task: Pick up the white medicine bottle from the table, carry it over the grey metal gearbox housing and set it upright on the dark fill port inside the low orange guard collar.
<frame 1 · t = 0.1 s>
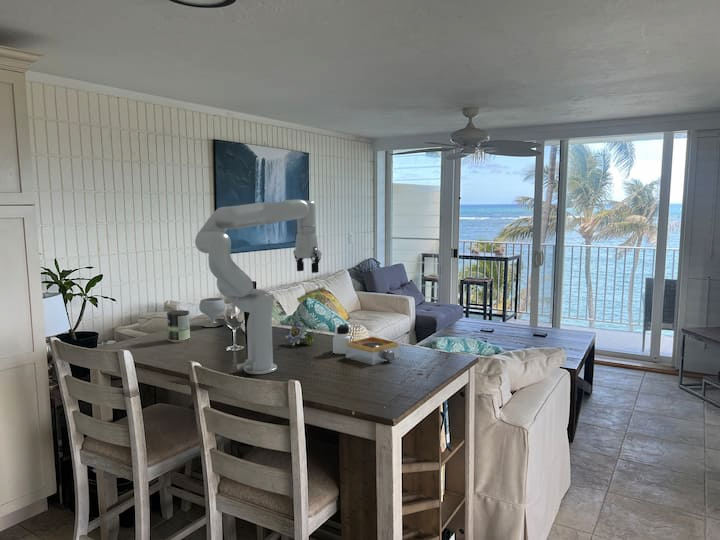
hand: (307, 271, 212), 37 cm above the table, tool pointing down, fingers open, 9 cm apart
medicine bottle: (342, 352, 224), on the table
gearbox: (372, 357, 215), on the table
coffee can: (179, 340, 249), on the table
chalice: (213, 326, 282), on the table
passion flower: (300, 344, 240), on the table
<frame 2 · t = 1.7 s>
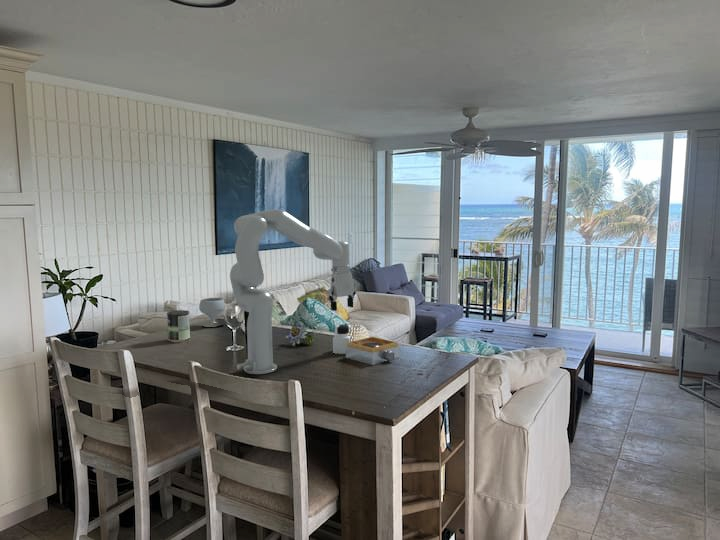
hand: (342, 308, 223), 19 cm above the table, tool pointing down, fingers open, 9 cm apart
nothing on the table moved.
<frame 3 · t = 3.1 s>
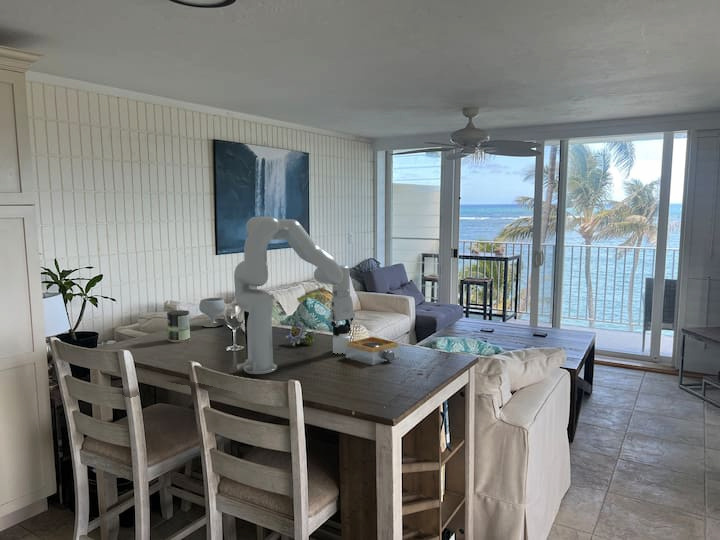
hand: (341, 333, 224), 8 cm above the table, tool pointing down, fingers closed on medicine bottle, 6 cm apart
medicine bottle: (342, 352, 224), on the table, touching gripper
everything else where it was.
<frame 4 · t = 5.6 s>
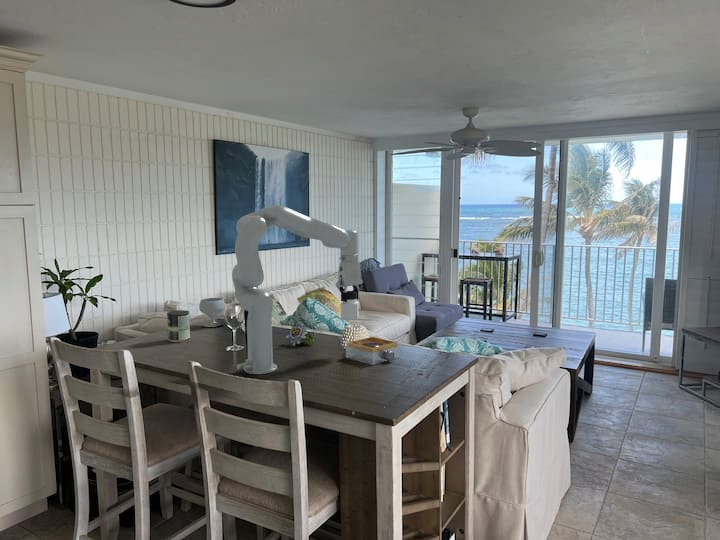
hand: (349, 300, 219), 24 cm above the table, tool pointing down, fingers closed on medicine bottle, 6 cm apart
medicine bottle: (349, 319, 220), point 15 cm above the table, touching gripper
everything else where it was.
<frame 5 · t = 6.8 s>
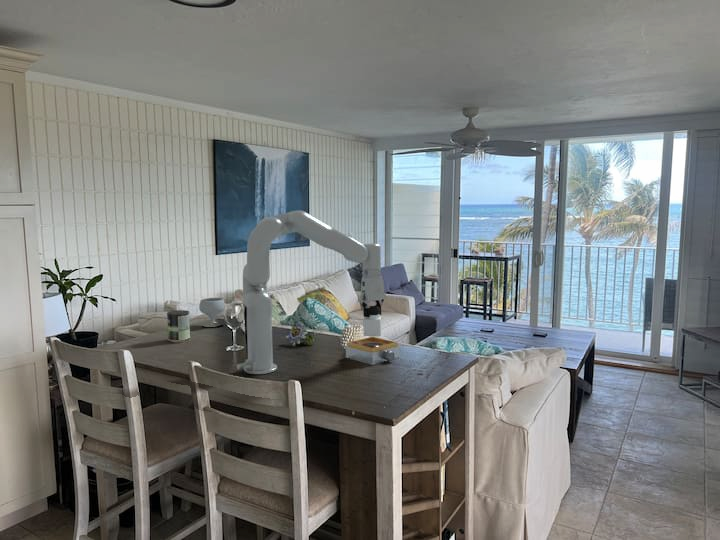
hand: (372, 315, 213), 18 cm above the table, tool pointing down, fingers closed on medicine bottle, 6 cm apart
medicine bottle: (372, 334, 214), point 10 cm above the table, touching gripper
everything else where it was.
when the fingers open (15 cm above the table, at t = 7.9 s): medicine bottle drops 1 cm, resting on gearbox.
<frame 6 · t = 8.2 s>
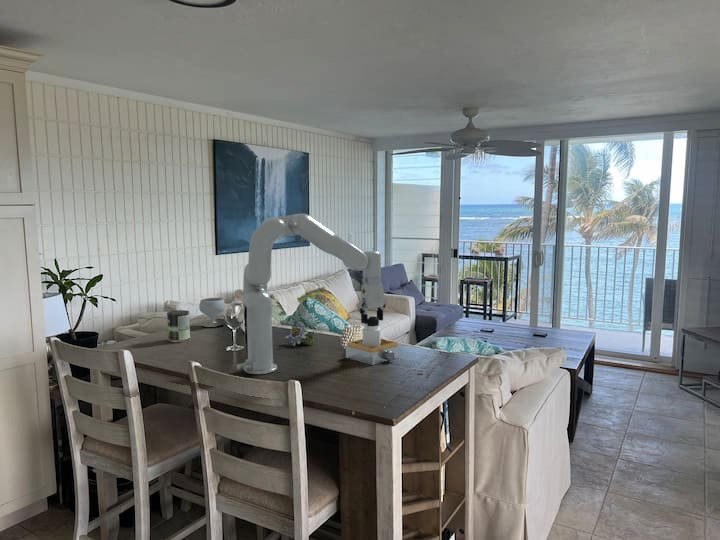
hand: (372, 321, 213), 15 cm above the table, tool pointing down, fingers open, 8 cm apart
medicine bottle: (371, 345, 214), point 5 cm above the table, touching gearbox
everything else where it was.
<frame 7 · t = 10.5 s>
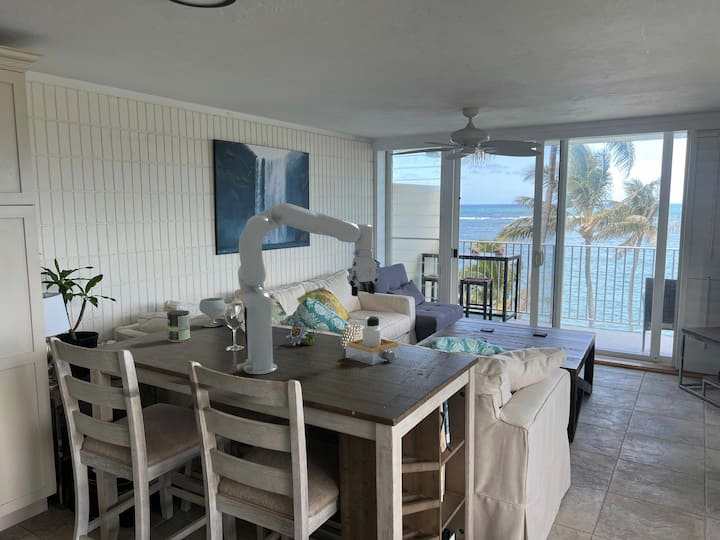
hand: (363, 294, 213), 27 cm above the table, tool pointing down, fingers open, 9 cm apart
nothing on the table moved.
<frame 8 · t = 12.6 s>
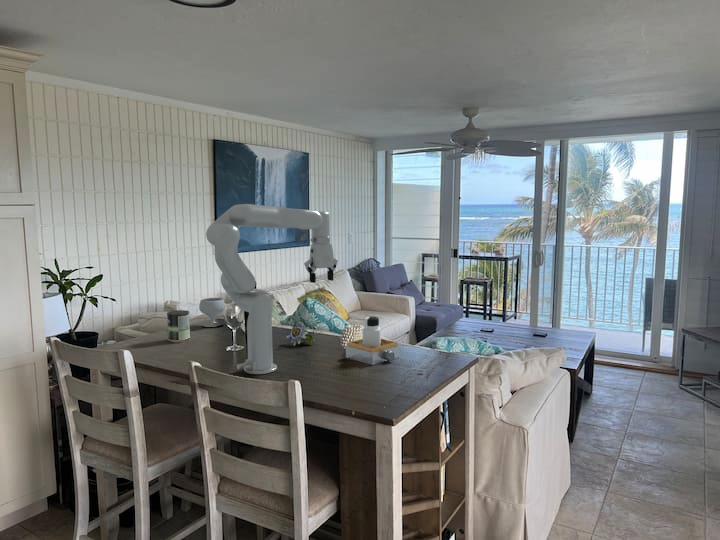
hand: (321, 281, 215), 32 cm above the table, tool pointing down, fingers open, 9 cm apart
nothing on the table moved.
at the end: medicine bottle inside the target area on the gearbox (0.3 cm from its centre), point 5.1 cm above the gearbox's base; medicine bottle tilted 0°; the gripper is holding nothing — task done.
